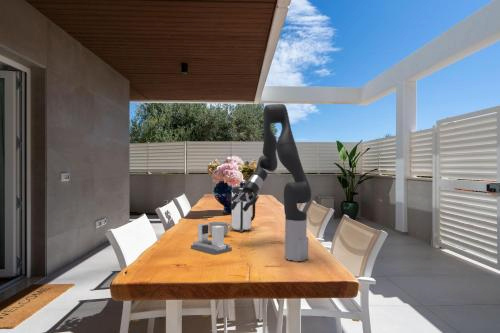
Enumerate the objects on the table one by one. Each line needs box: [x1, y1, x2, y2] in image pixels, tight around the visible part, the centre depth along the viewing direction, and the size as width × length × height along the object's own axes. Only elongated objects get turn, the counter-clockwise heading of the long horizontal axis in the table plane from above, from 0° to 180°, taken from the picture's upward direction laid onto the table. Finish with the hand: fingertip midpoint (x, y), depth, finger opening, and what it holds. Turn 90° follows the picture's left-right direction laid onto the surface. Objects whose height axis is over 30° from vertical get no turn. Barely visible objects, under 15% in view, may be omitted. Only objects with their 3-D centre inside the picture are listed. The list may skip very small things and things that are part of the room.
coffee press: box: [228, 181, 256, 234], centre depth 218 cm, size 17×16×30 cm
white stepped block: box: [211, 226, 226, 250], centre depth 164 cm, size 6×4×10 cm, turn 47°
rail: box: [190, 222, 233, 256], centre depth 168 cm, size 17×11×12 cm, turn 48°
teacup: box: [208, 221, 233, 236], centre depth 199 cm, size 14×11×8 cm
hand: (237, 209), depth 174 cm, fingers open, 8 cm apart
